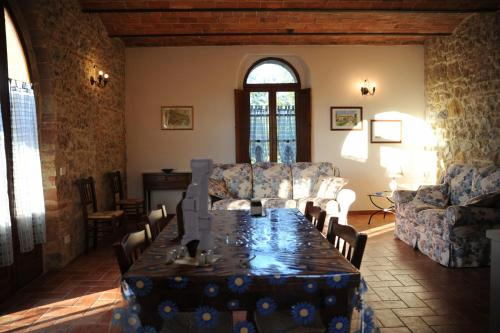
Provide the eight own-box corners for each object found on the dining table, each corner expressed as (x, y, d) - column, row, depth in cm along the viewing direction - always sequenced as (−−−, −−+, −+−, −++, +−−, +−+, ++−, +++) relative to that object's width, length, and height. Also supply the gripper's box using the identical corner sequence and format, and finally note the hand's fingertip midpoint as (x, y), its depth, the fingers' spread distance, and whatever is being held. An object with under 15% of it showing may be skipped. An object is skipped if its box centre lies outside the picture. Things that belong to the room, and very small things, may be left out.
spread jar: (249, 214, 288) (248, 198, 287) (264, 213, 291) (263, 197, 291) (254, 217, 277) (253, 200, 276) (269, 216, 280) (269, 199, 279)
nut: (193, 255, 180) (193, 249, 180) (204, 256, 179) (203, 249, 178) (188, 258, 176) (188, 251, 176) (199, 259, 175) (199, 252, 174)
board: (183, 254, 187) (183, 252, 187) (223, 257, 180) (223, 255, 180) (164, 264, 172) (164, 262, 172) (206, 268, 165) (206, 265, 165)
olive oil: (173, 235, 227) (172, 191, 225) (191, 233, 233) (189, 189, 231) (181, 239, 218) (180, 192, 216) (199, 236, 224) (197, 191, 222)
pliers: (254, 252, 185) (264, 265, 166) (254, 254, 185) (264, 267, 166) (233, 254, 183) (240, 266, 164) (233, 256, 183) (240, 269, 164)
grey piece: (178, 255, 182) (177, 246, 182) (218, 258, 175) (218, 249, 175) (163, 262, 172) (163, 253, 171) (206, 266, 164) (205, 256, 164)
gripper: (191, 222, 182) (192, 252, 182) (174, 229, 168) (175, 261, 169) (205, 223, 179) (206, 253, 180) (189, 229, 166) (190, 262, 166)
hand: (192, 257), depth 174 cm, fingers closed
